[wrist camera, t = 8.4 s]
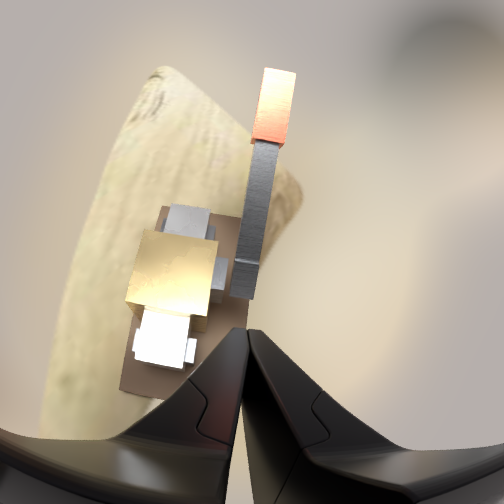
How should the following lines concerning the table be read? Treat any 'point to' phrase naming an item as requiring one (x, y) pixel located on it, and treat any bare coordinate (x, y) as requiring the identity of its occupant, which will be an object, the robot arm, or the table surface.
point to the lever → (261, 177)
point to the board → (218, 325)
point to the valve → (175, 287)
